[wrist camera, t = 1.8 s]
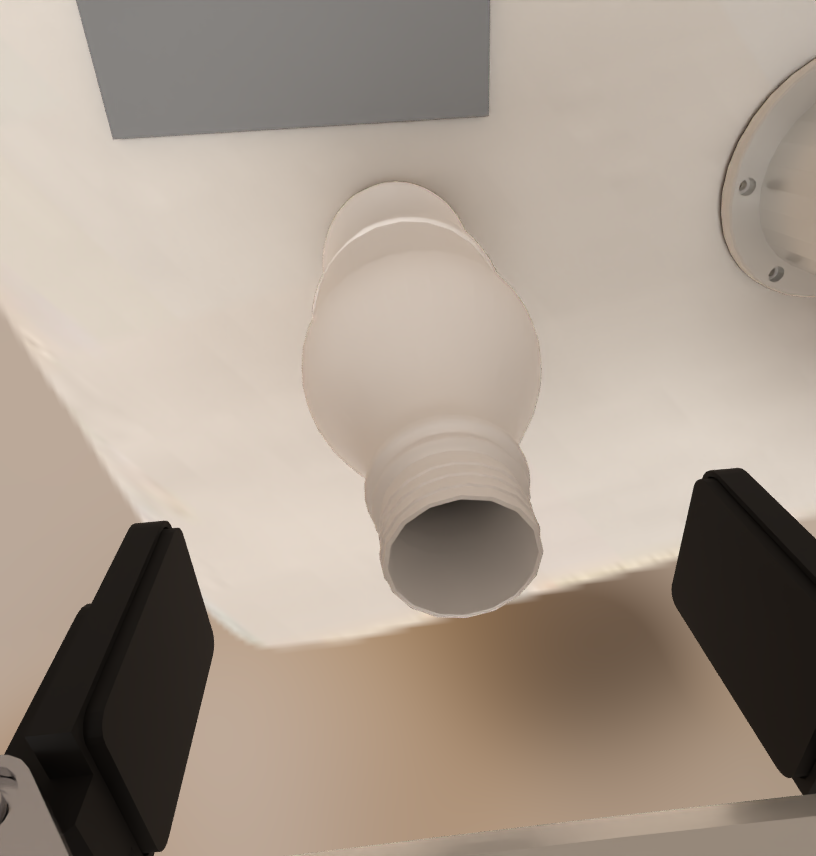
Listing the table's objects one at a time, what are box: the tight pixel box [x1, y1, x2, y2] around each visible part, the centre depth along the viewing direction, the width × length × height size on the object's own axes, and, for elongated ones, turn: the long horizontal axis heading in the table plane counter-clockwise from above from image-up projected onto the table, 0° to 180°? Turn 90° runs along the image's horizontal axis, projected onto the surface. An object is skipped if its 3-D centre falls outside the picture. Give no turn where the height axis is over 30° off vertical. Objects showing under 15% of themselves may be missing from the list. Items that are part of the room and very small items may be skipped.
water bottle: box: [302, 181, 543, 618], centre depth 22 cm, size 7×7×25 cm
